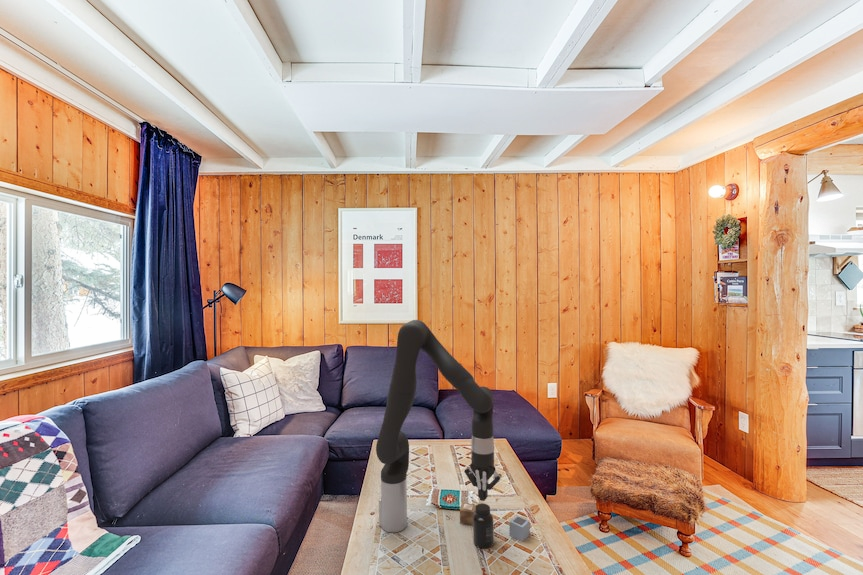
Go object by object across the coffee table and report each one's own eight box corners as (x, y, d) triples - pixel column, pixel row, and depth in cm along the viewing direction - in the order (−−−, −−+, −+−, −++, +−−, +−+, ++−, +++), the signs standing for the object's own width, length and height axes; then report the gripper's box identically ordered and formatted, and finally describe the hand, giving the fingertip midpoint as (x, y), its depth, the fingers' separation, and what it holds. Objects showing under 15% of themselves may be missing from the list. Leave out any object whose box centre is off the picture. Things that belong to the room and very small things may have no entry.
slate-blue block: (509, 535, 137) (509, 520, 137) (516, 528, 141) (516, 514, 141) (522, 542, 134) (522, 526, 134) (529, 534, 137) (529, 519, 137)
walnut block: (460, 523, 144) (459, 509, 144) (462, 515, 149) (462, 501, 149) (473, 525, 143) (473, 511, 143) (476, 517, 148) (476, 504, 147)
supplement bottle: (491, 535, 137) (491, 501, 137) (495, 548, 130) (495, 512, 130) (471, 536, 137) (471, 501, 137) (474, 549, 130) (474, 513, 130)
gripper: (459, 449, 133) (460, 500, 133) (498, 456, 127) (498, 510, 127) (468, 440, 139) (468, 489, 140) (505, 447, 133) (505, 498, 134)
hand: (483, 499), depth 133 cm, fingers closed
